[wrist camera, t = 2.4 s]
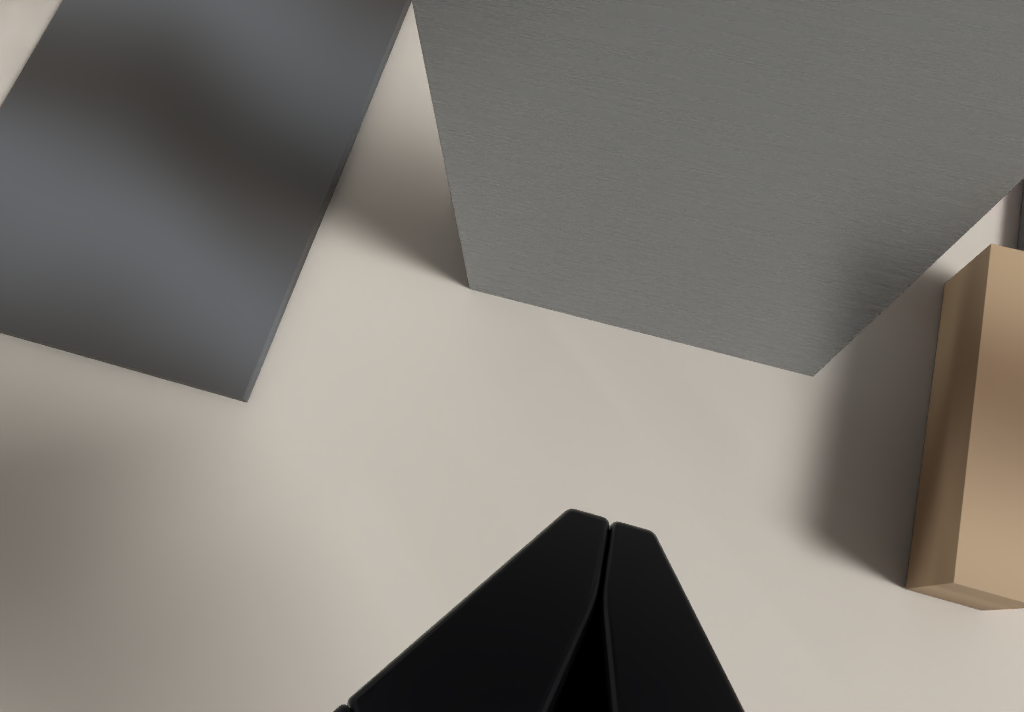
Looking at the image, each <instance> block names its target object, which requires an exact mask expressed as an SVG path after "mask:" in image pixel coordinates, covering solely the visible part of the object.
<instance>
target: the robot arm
mask: <svg viewBox="0 0 1024 712" xmlns="http://www.w3.org/2000/svg"><path fill="white" fill-rule="evenodd" d="M333 712H745V711H744V709H743V707H742V705H741V703H740V702H739V700H738V698H737V696H736V694H735V692H734V690H733V688H732V686H731V684H730V682H729V680H728V678H727V676H726V674H725V672H724V670H723V668H722V666H721V664H720V662H719V660H718V658H717V656H716V654H715V652H714V650H713V648H712V646H711V644H710V642H709V640H708V638H707V636H706V634H705V632H704V630H703V628H702V626H701V624H700V622H699V620H698V618H697V616H696V614H695V612H694V610H693V608H692V606H691V604H690V602H689V600H688V598H687V596H686V594H685V592H684V590H683V588H682V586H681V584H680V582H679V580H678V578H677V576H676V574H675V573H674V571H673V569H672V567H671V565H670V563H669V561H668V559H667V557H666V555H665V553H664V551H663V549H662V547H661V545H660V543H659V541H658V539H657V537H656V535H655V534H654V533H653V532H652V531H650V530H647V529H643V528H640V527H636V526H632V525H629V524H625V523H622V522H613V523H612V524H611V526H610V528H609V522H608V520H607V519H606V518H604V517H601V516H597V515H594V514H590V513H587V512H583V511H580V510H576V509H569V510H567V511H565V512H564V513H563V514H562V515H560V516H559V517H558V518H557V519H556V520H555V521H554V522H552V523H551V524H550V525H549V526H548V527H547V528H545V529H544V530H543V531H542V532H541V533H540V534H538V535H537V536H536V537H535V538H534V539H533V540H532V541H530V542H529V543H528V544H527V545H526V546H525V547H523V548H522V549H521V550H520V551H519V552H518V553H517V554H515V555H514V556H513V557H512V558H511V559H510V560H508V561H507V562H506V563H505V564H504V565H503V566H502V567H500V568H499V569H498V570H497V571H496V572H495V573H493V574H492V575H491V576H490V577H489V578H488V579H487V580H485V581H484V582H483V583H482V584H481V585H480V586H478V587H477V588H476V589H475V590H474V591H473V592H471V593H470V594H469V595H468V596H467V597H466V598H465V599H463V600H462V601H461V602H460V603H459V604H458V605H456V606H455V607H454V608H453V609H452V610H451V611H450V612H448V613H447V614H446V615H445V616H444V617H443V618H441V619H440V620H439V621H438V622H437V623H436V624H435V625H433V626H432V627H431V628H430V629H429V630H428V631H426V632H425V633H424V634H423V635H422V636H421V637H420V638H418V639H417V640H416V641H415V642H414V643H413V644H411V645H410V646H409V647H408V648H407V649H406V650H404V651H403V652H402V653H401V654H400V655H399V656H398V657H396V658H395V659H394V660H393V661H392V662H391V663H389V664H388V665H387V666H386V667H385V668H384V669H383V670H381V671H380V672H379V673H378V674H377V675H376V676H374V677H373V678H372V679H371V680H370V681H369V682H368V683H366V684H365V685H364V686H363V687H362V688H361V689H359V690H358V691H357V692H356V693H355V694H354V695H353V696H351V697H350V698H349V700H348V703H347V705H345V704H344V705H341V706H339V707H338V708H337V709H336V710H334V711H333Z"/></svg>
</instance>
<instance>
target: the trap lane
mask: <svg viewBox="0 0 1024 712" xmlns="http://www.w3.org/2000/svg"><path fill="white" fill-rule="evenodd" d="M411 1H412V0H63V2H62V3H61V5H60V7H59V8H58V10H57V12H56V14H55V15H54V17H53V19H52V20H51V22H50V24H49V26H48V27H47V29H46V31H45V32H44V34H43V36H42V38H41V39H40V41H39V43H38V45H37V46H36V48H35V50H34V51H33V53H32V55H31V57H30V58H29V60H28V62H27V63H26V65H25V67H24V69H23V70H22V72H21V74H20V75H19V77H18V79H17V81H16V82H15V84H14V86H13V88H12V89H11V91H10V93H9V94H8V96H7V98H6V100H5V101H4V103H3V105H2V106H1V108H0V333H4V334H7V335H11V336H14V337H18V338H21V339H25V340H28V341H32V342H36V343H39V344H43V345H46V346H50V347H53V348H57V349H60V350H64V351H67V352H71V353H74V354H78V355H81V356H85V357H89V358H92V359H96V360H99V361H103V362H106V363H110V364H113V365H117V366H120V367H124V368H127V369H131V370H134V371H138V372H142V373H145V374H149V375H152V376H156V377H159V378H163V379H166V380H170V381H173V382H177V383H180V384H184V385H187V386H191V387H195V388H198V389H202V390H205V391H209V392H212V393H216V394H219V395H223V396H226V397H230V398H233V399H237V400H240V401H244V402H247V401H248V399H249V397H250V394H251V392H252V389H253V387H254V384H255V382H256V379H257V377H258V375H259V372H260V370H261V367H262V365H263V362H264V360H265V357H266V355H267V353H268V350H269V348H270V345H271V343H272V340H273V338H274V336H275V333H276V331H277V328H278V326H279V323H280V321H281V318H282V316H283V314H284V311H285V309H286V306H287V304H288V301H289V299H290V296H291V294H292V292H293V289H294V287H295V284H296V282H297V279H298V277H299V274H300V272H301V270H302V267H303V265H304V262H305V260H306V257H307V255H308V253H309V250H310V248H311V245H312V243H313V240H314V238H315V235H316V233H317V231H318V228H319V226H320V223H321V221H322V218H323V216H324V213H325V211H326V209H327V206H328V204H329V201H330V199H331V196H332V194H333V191H334V189H335V187H336V184H337V182H338V179H339V177H340V174H341V172H342V170H343V167H344V165H345V162H346V160H347V157H348V155H349V152H350V150H351V148H352V145H353V143H354V140H355V138H356V135H357V133H358V130H359V128H360V126H361V123H362V121H363V118H364V116H365V113H366V111H367V108H368V106H369V104H370V101H371V99H372V96H373V94H374V91H375V89H376V87H377V84H378V82H379V79H380V77H381V74H382V72H383V69H384V67H385V65H386V62H387V60H388V57H389V55H390V52H391V50H392V47H393V45H394V43H395V40H396V38H397V35H398V33H399V30H400V28H401V25H402V23H403V21H404V18H405V16H406V13H407V11H408V8H409V6H410V4H411ZM906 589H908V590H912V591H915V592H919V593H922V594H926V595H929V596H933V597H936V598H940V599H943V600H947V601H950V602H954V603H957V604H961V605H964V606H968V607H972V608H975V609H979V610H999V609H1018V608H1024V190H1023V200H1022V210H1021V220H1020V230H1019V240H1018V250H1017V249H1012V248H1008V247H1003V246H999V245H995V244H990V245H989V246H988V247H987V248H986V249H985V250H983V251H982V252H981V253H980V254H979V255H978V256H976V257H975V258H974V259H973V260H972V261H971V262H970V263H968V264H967V265H966V266H965V267H964V268H963V269H961V270H960V271H959V272H958V273H957V274H956V275H955V276H953V277H952V278H951V279H950V280H949V281H948V282H946V283H945V287H944V295H943V302H942V310H941V318H940V326H939V333H938V341H937V349H936V357H935V365H934V372H933V380H932V388H931V396H930V403H929V411H928V419H927V427H926V434H925V442H924V450H923V458H922V466H921V473H920V481H919V489H918V497H917V504H916V512H915V520H914V528H913V535H912V543H911V551H910V559H909V567H908V574H907V582H906Z"/></svg>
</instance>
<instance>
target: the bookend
mask: <svg viewBox="0 0 1024 712" xmlns="http://www.w3.org/2000/svg"><path fill="white" fill-rule="evenodd" d="M412 4H413V9H414V14H415V19H416V24H417V29H418V34H419V39H420V44H421V49H422V54H423V59H424V64H425V68H426V73H427V78H428V83H429V88H430V93H431V98H432V103H433V108H434V113H435V118H436V123H437V128H438V133H439V138H440V143H441V148H442V153H443V158H444V163H445V168H446V173H447V178H448V183H449V188H450V193H451V198H452V203H453V208H454V213H455V218H456V223H457V228H458V233H459V238H460V243H461V248H462V253H463V257H464V262H465V267H466V272H467V277H468V282H469V287H470V289H472V290H476V291H480V292H484V293H487V294H491V295H495V296H499V297H503V298H507V299H511V300H515V301H519V302H523V303H527V304H531V305H534V306H538V307H542V308H546V309H550V310H554V311H558V312H562V313H566V314H570V315H574V316H578V317H582V318H585V319H589V320H593V321H597V322H601V323H605V324H609V325H613V326H617V327H621V328H625V329H629V330H632V331H636V332H640V333H644V334H648V335H652V336H656V337H660V338H664V339H668V340H672V341H676V342H679V343H683V344H687V345H691V346H695V347H699V348H703V349H707V350H711V351H715V352H719V353H723V354H726V355H730V356H734V357H738V358H742V359H746V360H750V361H754V362H758V363H762V364H766V365H770V366H773V367H777V368H781V369H785V370H789V371H793V372H797V373H801V374H805V375H809V376H814V375H815V374H816V373H818V372H819V371H820V370H821V369H822V368H823V367H824V366H825V365H826V364H827V363H828V362H829V361H830V360H831V359H832V358H833V357H834V356H836V355H837V354H838V353H839V352H840V351H841V350H842V349H843V348H844V347H845V346H846V345H847V344H848V343H849V342H850V341H851V340H853V339H854V338H855V337H856V336H857V335H858V334H859V333H860V332H861V331H862V330H863V329H864V328H865V327H866V326H867V325H868V324H870V323H871V322H872V321H873V320H874V319H875V318H876V317H877V316H878V315H879V314H880V313H881V312H882V311H883V310H884V309H885V308H887V307H888V306H889V305H890V304H891V303H892V302H893V301H894V300H895V299H896V298H897V297H898V296H899V295H900V294H901V293H902V292H904V291H905V290H906V289H907V288H908V287H909V286H910V285H911V284H912V283H913V282H914V281H915V280H916V279H917V278H918V277H919V276H920V275H922V274H923V273H924V272H925V271H926V270H927V269H928V268H929V267H930V266H931V265H932V264H933V263H934V262H935V261H936V260H937V259H939V258H940V257H941V256H942V255H943V254H944V253H945V252H946V251H947V250H948V249H949V248H950V247H951V246H952V245H953V244H954V243H956V242H957V241H958V240H959V239H960V238H961V237H962V236H963V235H964V234H965V233H966V232H967V231H968V230H969V229H970V228H971V227H973V226H974V225H975V224H976V223H977V222H978V221H979V220H980V219H981V218H982V217H983V216H984V215H985V214H986V213H987V212H988V211H989V210H991V209H992V208H993V207H994V206H995V205H996V204H997V203H998V202H999V201H1000V200H1001V199H1002V198H1003V197H1004V196H1005V195H1006V194H1008V193H1009V192H1010V191H1011V190H1012V189H1013V188H1014V187H1015V186H1016V185H1017V184H1018V183H1019V182H1020V181H1021V180H1022V179H1023V178H1024V0H412Z"/></svg>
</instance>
